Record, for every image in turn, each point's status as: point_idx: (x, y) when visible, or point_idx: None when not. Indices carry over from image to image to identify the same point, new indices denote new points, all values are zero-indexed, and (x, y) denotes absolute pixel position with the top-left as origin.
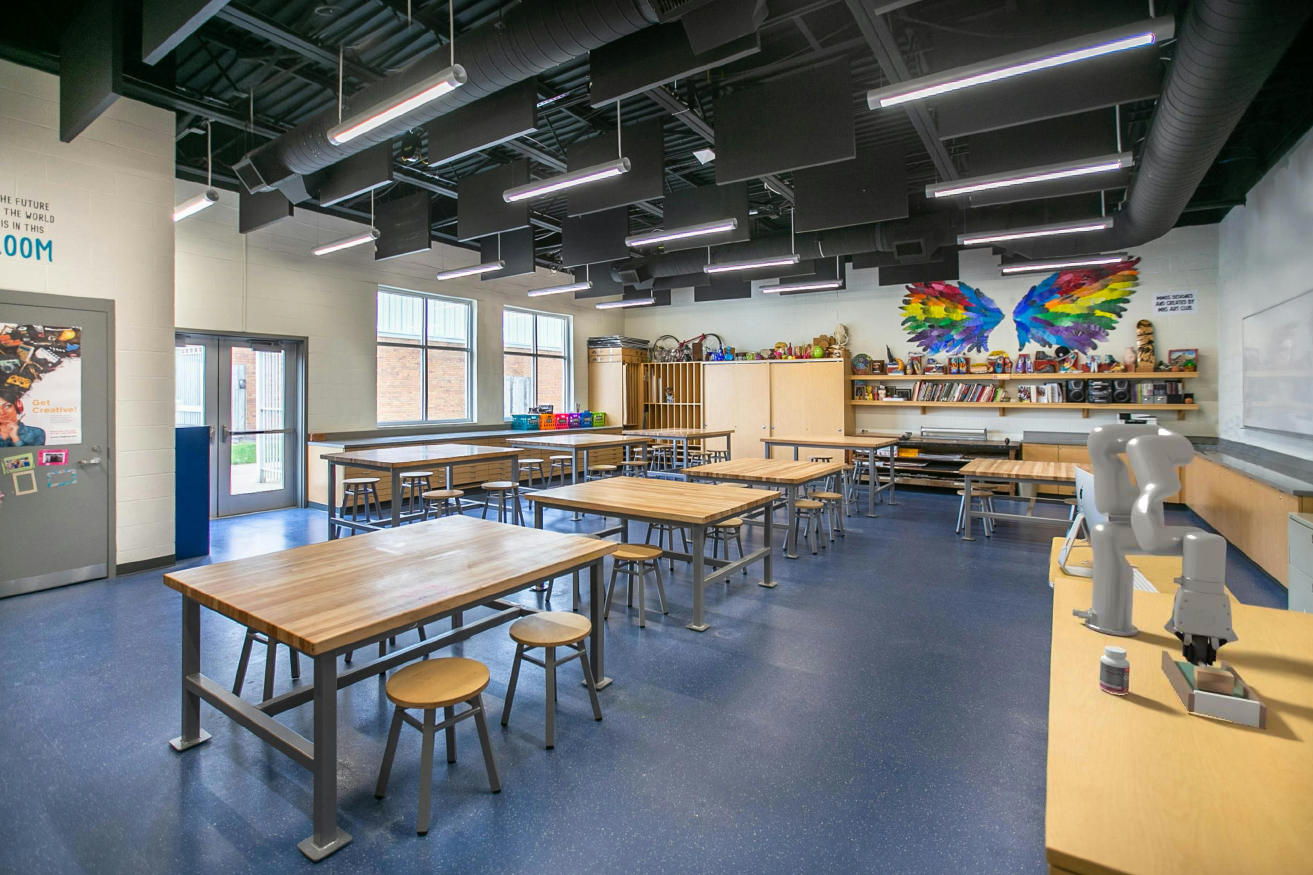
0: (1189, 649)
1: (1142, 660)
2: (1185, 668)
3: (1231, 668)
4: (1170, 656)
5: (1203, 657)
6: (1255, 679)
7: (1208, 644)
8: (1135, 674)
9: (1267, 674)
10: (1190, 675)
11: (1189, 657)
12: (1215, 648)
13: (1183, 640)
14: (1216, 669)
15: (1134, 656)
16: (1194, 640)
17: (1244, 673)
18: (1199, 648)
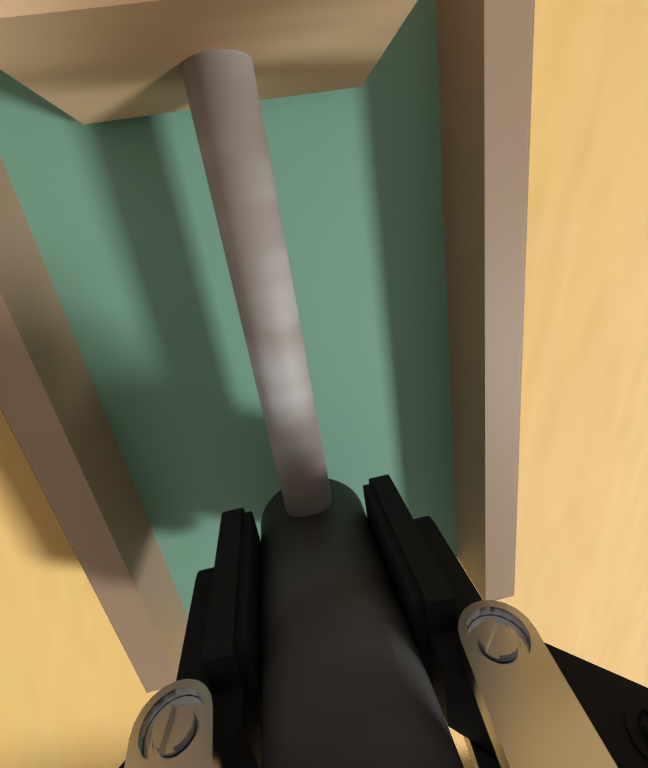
0: (430, 560)
1: (516, 550)
2: (376, 469)
3: (98, 562)
4: (485, 515)
5: (293, 544)
6: (58, 667)
7: (257, 758)
8: (597, 308)
9: (27, 757)
10: (358, 343)
11: (395, 497)
12: (179, 700)
13: (542, 657)
14: (135, 4)
15: (539, 576)
16: (432, 722)
17: (112, 703)
18: (346, 613)
